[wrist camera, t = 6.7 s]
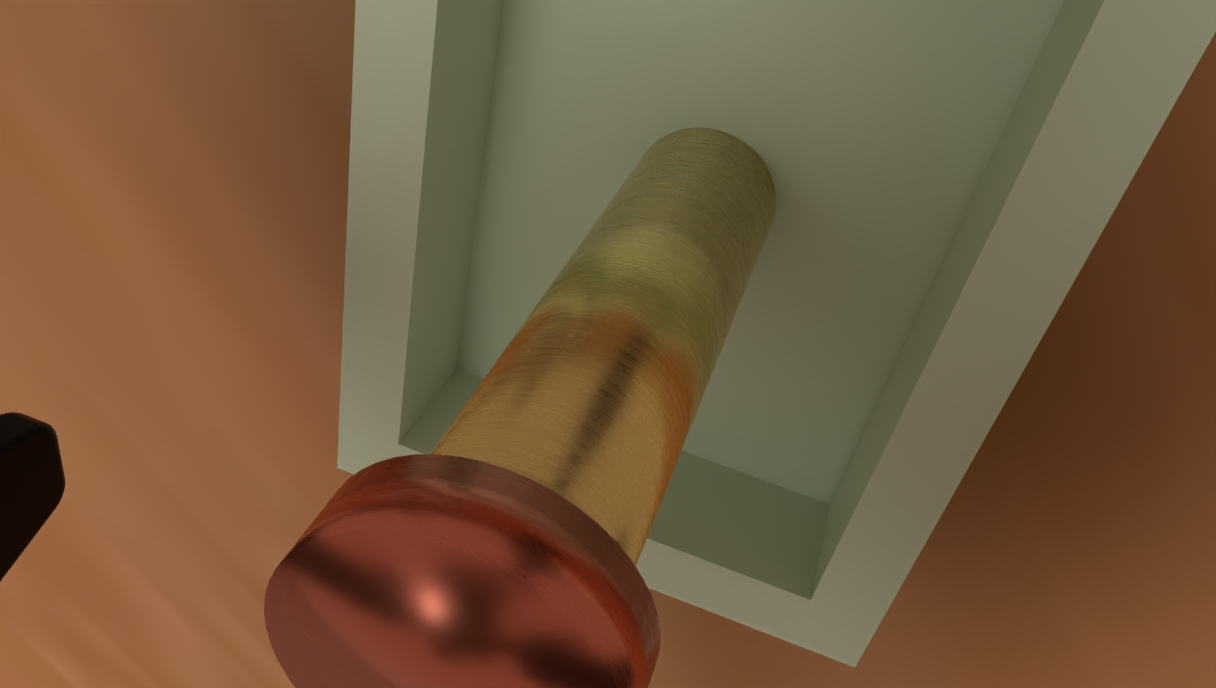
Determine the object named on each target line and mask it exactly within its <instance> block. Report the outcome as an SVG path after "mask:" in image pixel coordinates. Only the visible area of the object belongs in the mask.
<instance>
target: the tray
mask: <svg viewBox="0 0 1216 688" xmlns="http://www.w3.org/2000/svg"><path fill="white" fill-rule="evenodd" d="M1215 32H1216V0H356V6H355V31H354V56H353V82H352V107H351V132H350V157H349V182H348V207H347V233H346V258H345V283H344V308H343V333H342V358H341V384H340V409H339V434H338V459H337V468H338V469H341V470H344V471H346V472H349V473H351V474H354V475H355V474H356V473H357V472H359V471H360V470H362V469H364V468H366V467H368V466H370V465H372V464H374V463H376V462H380V461H383V460H387V459H390V458H393V457H399V456H407V455H414V454H431V453H432V451H433V450H434V448H435V447H436V446H437V444H438V443H439V441H440V440H441V439H442V437H443V436H444V434H445V433H446V432H447V430H448V429H449V427H450V426H451V424H452V423H453V422H454V420H455V419H456V417H457V416H458V415H459V413H460V412H461V410H462V409H463V408H464V406H465V405H466V403H467V402H468V401H469V399H470V398H471V396H472V395H473V394H474V392H475V391H476V389H477V388H478V387H479V385H480V384H481V382H482V381H483V380H484V378H485V377H486V375H487V374H488V373H489V371H490V370H491V368H492V367H493V366H494V364H495V363H496V361H497V360H498V359H499V357H500V356H501V354H502V353H503V352H504V350H505V349H506V347H507V346H508V345H509V343H510V342H511V340H512V339H513V338H514V336H515V335H516V333H517V332H518V330H519V329H520V328H521V326H522V325H523V323H524V322H525V321H526V319H527V318H528V316H529V315H530V314H531V312H532V311H533V309H534V308H535V307H536V305H537V304H538V302H539V301H540V300H541V298H542V297H543V295H544V294H545V293H546V291H547V290H548V288H549V287H550V286H551V284H552V283H553V281H554V280H555V279H556V277H557V276H558V274H559V273H560V272H561V270H562V269H563V267H564V266H565V265H566V263H567V262H568V260H569V259H570V258H571V256H572V255H573V253H574V252H575V251H576V249H577V248H578V246H579V245H580V244H581V242H582V241H583V239H584V238H585V237H586V235H587V234H588V232H589V231H590V229H591V228H592V227H593V225H594V224H595V222H596V221H597V220H598V218H599V217H600V215H601V214H602V213H603V211H604V210H605V208H606V207H607V206H608V204H609V203H610V201H611V200H612V199H613V197H614V196H615V194H616V193H617V192H618V190H619V189H620V187H621V186H622V185H623V183H624V182H625V180H626V179H627V178H628V176H629V175H630V173H631V172H632V171H633V169H634V168H635V166H636V165H637V164H638V162H639V161H640V159H641V158H642V157H643V155H644V154H645V152H646V151H647V150H648V149H649V148H650V147H651V146H652V145H653V144H654V143H655V142H656V141H658V140H659V139H661V138H662V137H664V136H665V135H668V134H670V133H672V132H674V131H678V130H682V129H687V128H710V129H715V130H719V131H723V132H725V133H728V134H731V135H733V136H735V137H736V138H738V139H740V140H742V141H743V142H744V143H746V144H747V145H748V146H750V147H751V148H752V149H753V150H754V151H755V152H756V153H757V154H758V155H759V157H760V158H761V159H762V160H763V162H764V163H765V165H766V166H767V168H768V170H769V172H770V174H771V177H772V180H773V183H774V187H775V192H776V209H775V214H774V218H773V221H772V224H771V226H770V229H769V231H768V234H767V237H766V239H765V242H764V244H763V247H762V249H761V252H760V254H759V257H758V259H757V262H756V264H755V267H754V269H753V272H752V274H751V277H750V279H749V282H748V284H747V287H746V289H745V292H744V295H743V297H742V300H741V302H740V305H739V307H738V310H737V312H736V315H735V317H734V320H733V322H732V325H731V327H730V330H729V332H728V335H727V337H726V340H725V342H724V345H723V347H722V350H721V353H720V355H719V358H718V360H717V363H716V365H715V368H714V370H713V373H712V375H711V378H710V380H709V383H708V385H707V388H706V390H705V393H704V395H703V398H702V400H701V403H700V405H699V408H698V411H697V413H696V416H695V418H694V421H693V423H692V426H691V428H690V431H689V433H688V436H687V438H686V441H685V443H684V446H683V448H682V451H681V453H680V456H679V458H678V461H677V463H676V466H675V469H674V471H673V474H672V476H671V479H670V481H669V484H668V486H667V489H666V491H665V494H664V496H663V499H662V501H661V504H660V506H659V509H658V511H657V514H656V516H655V519H654V521H653V524H652V527H651V529H650V532H649V534H648V537H647V539H646V542H645V544H644V547H643V549H642V552H641V554H640V557H639V559H638V562H637V564H636V568H637V570H638V571H639V573H640V574H641V576H642V577H643V579H644V581H645V583H646V585H647V587H648V588H650V589H652V590H655V591H657V592H660V593H663V594H665V595H668V596H670V597H673V598H676V599H678V600H681V601H683V602H686V603H689V604H691V605H694V606H696V607H699V608H702V609H704V610H707V611H709V612H712V613H715V614H717V615H720V616H722V617H725V618H728V619H730V620H733V621H735V622H738V623H740V624H743V625H746V626H748V627H751V628H753V629H756V630H759V631H761V632H764V633H766V634H769V635H772V636H774V637H777V638H779V639H782V640H785V641H787V642H790V643H792V644H795V645H798V646H800V647H803V648H805V649H808V650H811V651H813V652H816V653H818V654H821V655H823V656H826V657H829V658H831V659H834V660H836V661H839V662H842V663H844V664H847V665H849V666H852V667H856V665H857V663H858V662H859V660H860V658H861V656H862V655H863V653H864V651H865V649H866V647H867V646H868V644H869V642H870V640H871V639H872V637H873V635H874V633H875V632H876V630H877V628H878V626H879V625H880V623H881V621H882V619H883V617H884V616H885V614H886V612H887V610H888V609H889V607H890V605H891V603H892V602H893V600H894V598H895V596H896V595H897V593H898V591H899V589H900V588H901V586H902V584H903V582H904V580H905V579H906V577H907V575H908V573H909V572H910V570H911V568H912V566H913V565H914V563H915V561H916V559H917V558H918V556H919V554H920V552H921V550H922V549H923V547H924V545H925V543H926V542H927V540H928V538H929V536H930V535H931V533H932V531H933V529H934V528H935V526H936V524H937V522H938V521H939V519H940V517H941V515H942V513H943V512H944V510H945V508H946V506H947V505H948V503H949V501H950V499H951V498H952V496H953V494H954V492H955V491H956V489H957V487H958V485H959V484H960V482H961V480H962V478H963V476H964V475H965V473H966V471H967V469H968V468H969V466H970V464H971V462H972V461H973V459H974V457H975V455H976V454H977V452H978V450H979V448H980V446H981V445H982V443H983V441H984V439H985V438H986V436H987V434H988V432H989V431H990V429H991V427H992V425H993V424H994V422H995V420H996V418H997V417H998V415H999V413H1000V411H1001V409H1002V408H1003V406H1004V404H1005V402H1006V401H1007V399H1008V397H1009V395H1010V394H1011V392H1012V390H1013V388H1014V387H1015V385H1016V383H1017V381H1018V380H1019V378H1020V376H1021V374H1022V372H1023V371H1024V369H1025V367H1026V365H1027V364H1028V362H1029V360H1030V358H1031V357H1032V355H1033V353H1034V351H1035V350H1036V348H1037V346H1038V344H1039V342H1040V341H1041V339H1042V337H1043V335H1044V334H1045V332H1046V330H1047V328H1048V327H1049V325H1050V323H1051V321H1052V320H1053V318H1054V316H1055V314H1056V313H1057V311H1058V309H1059V307H1060V305H1061V304H1062V302H1063V300H1064V298H1065V297H1066V295H1067V293H1068V291H1069V290H1070V288H1071V286H1072V284H1073V283H1074V281H1075V279H1076V277H1077V275H1078V274H1079V272H1080V270H1081V268H1082V267H1083V265H1084V263H1085V261H1086V260H1087V258H1088V256H1089V254H1090V253H1091V251H1092V249H1093V247H1094V246H1095V244H1096V242H1097V240H1098V238H1099V237H1100V235H1101V233H1102V231H1103V230H1104V228H1105V226H1106V224H1107V223H1108V221H1109V219H1110V217H1111V216H1112V214H1113V212H1114V210H1115V209H1116V207H1117V205H1118V203H1119V201H1120V200H1121V198H1122V196H1123V194H1124V193H1125V191H1126V189H1127V187H1128V186H1129V184H1130V182H1131V180H1132V179H1133V177H1134V175H1135V173H1136V171H1137V170H1138V168H1139V166H1140V164H1141V163H1142V161H1143V159H1144V157H1145V156H1146V154H1147V152H1148V150H1149V149H1150V147H1151V145H1152V143H1153V142H1154V140H1155V138H1156V136H1157V134H1158V133H1159V131H1160V129H1161V127H1162V126H1163V124H1164V122H1165V120H1166V119H1167V117H1168V115H1169V113H1170V112H1171V110H1172V108H1173V106H1174V104H1175V103H1176V101H1177V99H1178V97H1179V96H1180V94H1181V92H1182V90H1183V89H1184V87H1185V85H1186V83H1187V82H1188V80H1189V78H1190V76H1191V75H1192V73H1193V71H1194V69H1195V67H1196V66H1197V64H1198V62H1199V60H1200V59H1201V57H1202V55H1203V53H1204V52H1205V50H1206V48H1207V46H1208V45H1209V43H1210V41H1211V39H1212V38H1213V36H1214V34H1215Z"/></svg>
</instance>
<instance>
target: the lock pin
mask: <svg viewBox="0 0 1216 688" xmlns="http://www.w3.org/2000/svg"><path fill="white" fill-rule="evenodd" d="M775 209H776V192H775V187H774V183H773V180H772V177H771V174H770V172H769V170H768V168H767V166H766V165H765V163H764V162H763V160H762V159H761V158H760V157H759V155H758V154H757V153H756V152H755V151H754V150H753V149H752V148H751V147H750V146H748V145H747V144H746V143H744V142H743V141H742V140H740V139H738V138H736V137H735V136H733V135H731V134H728V133H725V132H723V131H719V130H715V129H710V128H687V129H682V130H678V131H674V132H672V133H670V134H668V135H665V136H664V137H662V138H661V139H659V140H658V141H656V142H655V143H654V144H653V145H652V146H651V147H650V148H649V149H648V150H647V151H646V152H645V154H644V155H643V157H642V158H641V159H640V161H639V162H638V164H637V165H636V166H635V168H634V169H633V171H632V172H631V173H630V175H629V176H628V178H627V179H626V180H625V182H624V183H623V185H622V186H621V187H620V189H619V190H618V192H617V193H616V194H615V196H614V197H613V199H612V200H611V201H610V203H609V204H608V206H607V207H606V208H605V210H604V211H603V213H602V214H601V215H600V217H599V218H598V220H597V221H596V222H595V224H594V225H593V227H592V228H591V229H590V231H589V232H588V234H587V235H586V237H585V238H584V239H583V241H582V242H581V244H580V245H579V246H578V248H577V249H576V251H575V252H574V253H573V255H572V256H571V258H570V259H569V260H568V262H567V263H566V265H565V266H564V267H563V269H562V270H561V272H560V273H559V274H558V276H557V277H556V279H555V280H554V281H553V283H552V284H551V286H550V287H549V288H548V290H547V291H546V293H545V294H544V295H543V297H542V298H541V300H540V301H539V302H538V304H537V305H536V307H535V308H534V309H533V311H532V312H531V314H530V315H529V316H528V318H527V319H526V321H525V322H524V323H523V325H522V326H521V328H520V329H519V330H518V332H517V333H516V335H515V336H514V338H513V339H512V340H511V342H510V343H509V345H508V346H507V347H506V349H505V350H504V352H503V353H502V354H501V356H500V357H499V359H498V360H497V361H496V363H495V364H494V366H493V367H492V368H491V370H490V371H489V373H488V374H487V375H486V377H485V378H484V380H483V381H482V382H481V384H480V385H479V387H478V388H477V389H476V391H475V392H474V394H473V395H472V396H471V398H470V399H469V401H468V402H467V403H466V405H465V406H464V408H463V409H462V410H461V412H460V413H459V415H458V416H457V417H456V419H455V420H454V422H453V423H452V424H451V426H450V427H449V429H448V430H447V432H446V433H445V434H444V436H443V437H442V439H441V440H440V441H439V443H438V444H437V446H436V447H435V448H434V450H433V451H432V453H431V454H414V455H407V456H399V457H393V458H390V459H387V460H383V461H380V462H376V463H374V464H372V465H370V466H368V467H366V468H364V469H362V470H360V471H359V472H357V473H356V474H355V475H353V476H352V477H351V478H349V479H348V480H347V481H346V482H345V483H344V484H343V485H342V486H341V488H340V489H339V490H338V491H337V492H336V493H335V495H334V496H333V497H332V498H331V500H330V501H329V502H328V503H327V505H326V506H325V507H324V509H323V510H322V511H321V512H320V514H319V515H318V516H317V517H316V519H315V520H314V521H313V522H312V524H311V525H310V526H309V527H308V529H307V530H306V531H305V532H304V534H303V535H302V536H301V537H300V539H299V540H298V541H297V543H296V544H295V545H294V546H293V548H292V549H291V550H290V551H289V553H288V554H287V555H286V556H285V558H284V559H283V560H282V561H281V563H280V564H279V565H278V566H277V568H276V569H275V571H274V573H273V575H272V577H271V578H270V580H269V583H268V587H267V590H266V593H265V603H264V615H265V623H266V629H267V632H268V636H269V639H270V643H271V645H272V647H273V650H274V652H275V654H276V657H277V659H278V661H279V663H280V664H281V666H282V668H283V670H284V671H285V673H286V675H287V676H288V678H289V679H290V681H291V682H292V683H293V685H294V686H295V687H296V688H648V686H649V683H650V680H651V677H652V674H653V671H654V668H655V665H656V661H657V657H658V653H659V649H660V628H659V621H658V615H657V611H656V608H655V605H654V602H653V598H652V596H651V594H650V592H649V590H648V587H647V585H646V583H645V581H644V579H643V577H642V576H641V574H640V573H639V571H638V570H637V568H636V564H637V562H638V559H639V557H640V554H641V552H642V549H643V547H644V544H645V542H646V539H647V537H648V534H649V532H650V529H651V527H652V524H653V521H654V519H655V516H656V514H657V511H658V509H659V506H660V504H661V501H662V499H663V496H664V494H665V491H666V489H667V486H668V484H669V481H670V479H671V476H672V474H673V471H674V469H675V466H676V463H677V461H678V458H679V456H680V453H681V451H682V448H683V446H684V443H685V441H686V438H687V436H688V433H689V431H690V428H691V426H692V423H693V421H694V418H695V416H696V413H697V411H698V408H699V405H700V403H701V400H702V398H703V395H704V393H705V390H706V388H707V385H708V383H709V380H710V378H711V375H712V373H713V370H714V368H715V365H716V363H717V360H718V358H719V355H720V353H721V350H722V347H723V345H724V342H725V340H726V337H727V335H728V332H729V330H730V327H731V325H732V322H733V320H734V317H735V315H736V312H737V310H738V307H739V305H740V302H741V300H742V297H743V295H744V292H745V289H746V287H747V284H748V282H749V279H750V277H751V274H752V272H753V269H754V267H755V264H756V262H757V259H758V257H759V254H760V252H761V249H762V247H763V244H764V242H765V239H766V237H767V234H768V231H769V229H770V226H771V224H772V221H773V218H774V214H775Z"/></svg>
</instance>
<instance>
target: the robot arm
mask: <svg viewBox="0 0 1216 688" xmlns="http://www.w3.org/2000/svg"><path fill="white" fill-rule="evenodd" d="M64 489H65V477H64V471H63V466H62V461H61V455H60V450H59V444H58V439H57V435H56V432H55V430H54V429H53V428H52V427H51V425H49V424H47V423H45V422H42V421H40V420H37V419H35V418H32V417H30V416H27V415H24V414H21V413H15V412H11V413H5V414H1V415H0V581H1V580H2V579H3V577H4V576H5V575H6V573H7V572H8V571H9V569H10V568H11V567H12V565H13V564H14V563H15V561H16V560H17V559H18V557H19V556H20V555H21V553H22V552H23V551H24V549H25V548H26V547H27V545H28V544H29V543H30V542H31V540H32V539H33V538H34V536H35V535H36V534H37V532H38V531H39V530H40V528H41V527H42V526H43V524H44V523H45V522H46V520H47V519H48V518H49V516H50V515H51V514H52V512H53V511H54V510H55V508H56V507H57V505H58V504H59V502H60V500H61V498H62V495H63V492H64Z"/></svg>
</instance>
